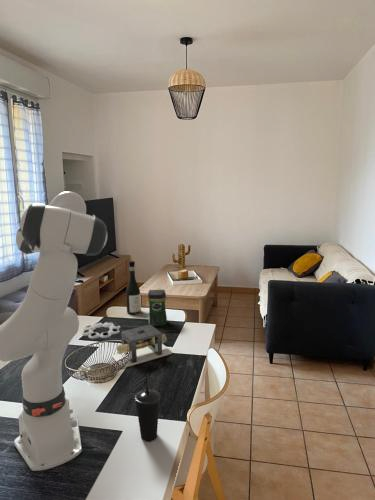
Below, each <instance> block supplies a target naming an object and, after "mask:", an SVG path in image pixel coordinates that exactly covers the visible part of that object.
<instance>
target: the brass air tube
mask: <svg viewBox="0 0 375 500" xmlns="http://www.w3.org/2000/svg"><path fill="white" fill-rule="evenodd" d="M167 341H168V338H167V335H166V334H165V333H162V344H164V343H166V342H167ZM153 345H155V337H153V338H149V339H145V340H142V341H138V342H136V350H138V349H143V348H145V347H149V346H153ZM116 349H117V354H119V355H120V354H123V353H127V352H129V344H128V343H127V344H123V345H122V344H119V345H117V347H116Z"/></svg>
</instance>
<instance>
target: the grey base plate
mask: <svg viewBox="0 0 375 500" xmlns="http://www.w3.org/2000/svg"><path fill="white" fill-rule="evenodd" d="M136 354H137V362H135V363H132V362H131V361H130V360H129V362H128V363H127V364H126V365H125V367H124V368H123V369H125V368H128V367H132V366H135V365H139V364H142V363H146V362H149V361H152V360H157V359H159V358H162V357H165V356H169V355H173V351H172V350H171V349H170V348H169V347H167V346H166V345H165V344H164V343H162V355H159V356H158V355H157V354H156V353H154V352H153V351H152V350H151V349H150V348H149V347H145V348H143V349H138V350H136ZM121 358H122V355H121V354H120V355H119V354H118V353H116V354H113V355H111V359H112V360H113V362H115V361H117V360H119V359H121Z"/></svg>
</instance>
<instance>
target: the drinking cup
mask: <svg viewBox="0 0 375 500" xmlns="http://www.w3.org/2000/svg"><path fill="white" fill-rule="evenodd" d="M160 399H161V393H160V391H158V390H156V389H152V388H149V376H148V375H146V376H145V389H141V390H138V391H137V392H136V393H135V394H134V401H135V404H136V411H137V417H138V418H137V419H138V425H139V433H140V438H141V440H142V441H144V442H149V443H150V442H153V441H154V440H155V441H156V439H157V437H158V425H159V409H160Z"/></svg>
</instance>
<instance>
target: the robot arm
mask: <svg viewBox="0 0 375 500" xmlns="http://www.w3.org/2000/svg"><path fill="white" fill-rule="evenodd" d="M20 219H21V220H20V227H19V228H18V229H17V232H16V235H15V243H16V246H17V249H18V250H19V251H20V252H21V253H23V254H25V255H31V254H35V253H39V255H38V259H37V262H36V264H35V265H34V269H33V271H32V274H31V277H30V281H29V283H28V287H27V291H26V294H25V296H24V298H23V301H22V302H21V304H20V305H19V306H18V307H17V309H16V310H15V311H14V312H13V314H11V315H10V317H8V318H7V319H6V320H5V321H4V322H2V323H1V324H0V361H1V362H3V363H4V362H5V363H6V362H11V361H18V360H21V359H25V358H26V357H27V358H28V357H30V356H32V357H31V358H30V359H29V360H28V361H27V362H26V364H25V365H24V366H23V368H22V371H21V375H20V377H21V386H22V396H21V398H22V399H21V404H22V408H23V409H22V411H21V412H20V414H19V415H18V427H19V435H18V436H17V437H16V438H15V439H14V441H13V445H14V447H15V448H16V449H17V451H18V452H19V454H20V455H21V457H22V458H23V460H24V462H25V463H26V465H27V466H28V467H29V469H30V470H31V471H33V472H34V471H35V472H37V471H40V472H41V471H44V470H45V471H46V470H49V469H53V468H55V467H58V466H60V465H63V464H65V463H67V462H70V461H71V460H73V459H75V458H76V457H77V456H79V455H80V454H81V452H82V451H83V448H82V441H81V434H80V427H79V426H80V425H79V420H78V419H77V418H74V417H73V416H71V414H74V409H73V408H70V400H69V399H67V398H66V391H65V388H64V385H63V376H62V373H63V371H62V368H63V361H64V357H65V353H66V351H67V348H68V346H69V345H70V343H71V341H72V340H73V339H74V337H75V335H77V333H78V332H79V328H80V319H79V316H78V314H77V313H76V312H75V311H76V310H74V309H73V308H71V307H70V306H69V303H70V299H71V297H72V294H73V290H74V287H75V284H76V280H77V276H78V275H77V274H78V265H79V263H78V259H77V256H76V255H75V254H81V255H82V254H83V255H84V256H97V255H99V254H100V253H101V252H102V251H103V249H104V247H105V246H106V244H107V241H108V227H107V225H106V224H105V222H104V221H103V220H102V219H100V218H99V217H97V216H96V215H95V214H87V204H86V202H85V200H84V198H83V196H81V195H80V194H78V193H77V192H74V191H69V190H67V191H62V192H60V193H58V194H57V195H55V196H54V198H52V200H51V201H50V202H49V204H47V205H46V203H40V202H38V203H37V202H35V203H31V204H30V205H28V207H27V208H26V210H25V211H24V212H23V213H22V215H21V218H20Z"/></svg>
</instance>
